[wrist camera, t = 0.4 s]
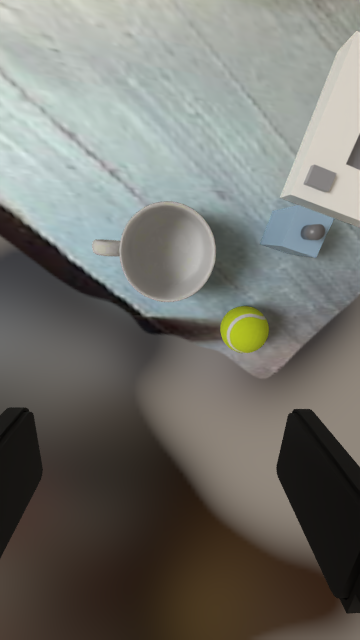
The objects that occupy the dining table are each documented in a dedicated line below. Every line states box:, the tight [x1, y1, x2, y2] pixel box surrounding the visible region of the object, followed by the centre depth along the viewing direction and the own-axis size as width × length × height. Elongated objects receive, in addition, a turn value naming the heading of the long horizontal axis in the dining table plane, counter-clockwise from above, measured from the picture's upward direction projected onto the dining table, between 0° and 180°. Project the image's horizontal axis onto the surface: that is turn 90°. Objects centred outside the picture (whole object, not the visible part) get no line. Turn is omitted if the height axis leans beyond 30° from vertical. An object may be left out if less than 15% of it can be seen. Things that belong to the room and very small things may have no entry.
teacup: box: [92, 201, 216, 302], centre depth 31 cm, size 14×11×8 cm
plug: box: [260, 205, 334, 258], centre depth 31 cm, size 4×4×9 cm
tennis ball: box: [220, 306, 269, 353], centre depth 36 cm, size 7×7×7 cm
